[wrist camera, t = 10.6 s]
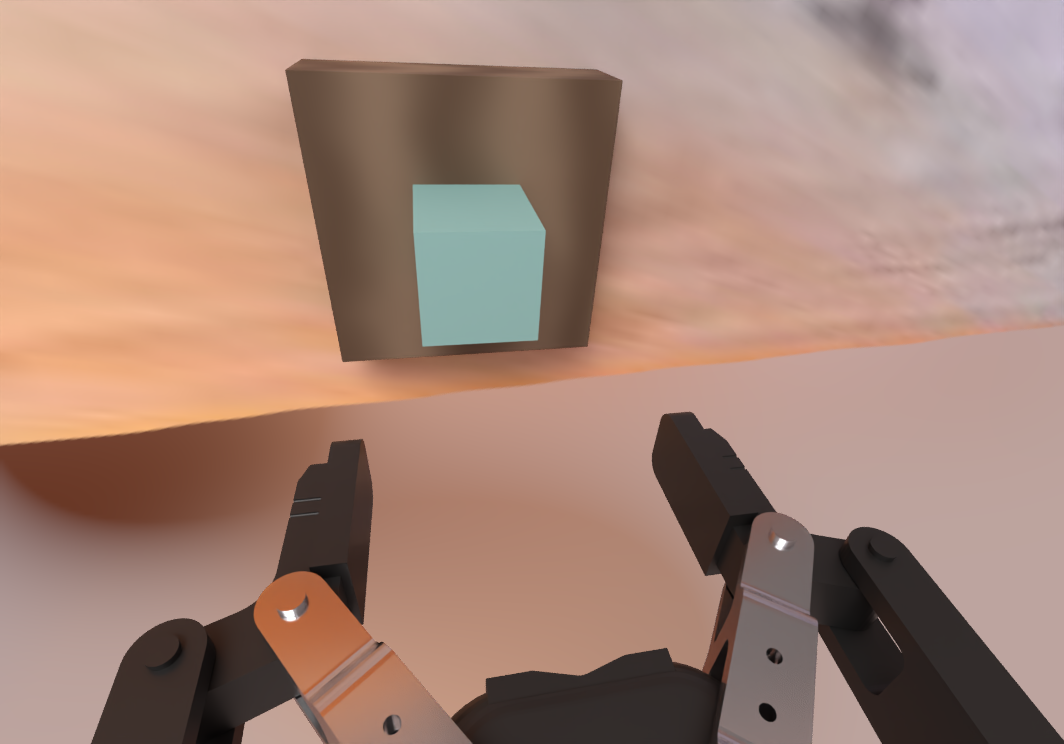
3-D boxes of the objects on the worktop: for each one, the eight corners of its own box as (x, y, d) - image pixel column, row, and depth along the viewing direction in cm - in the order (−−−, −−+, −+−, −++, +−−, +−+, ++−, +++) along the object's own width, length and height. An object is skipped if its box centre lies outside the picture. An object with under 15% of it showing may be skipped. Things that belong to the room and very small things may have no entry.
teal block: (519, 184, 25) (545, 230, 20) (515, 280, 28) (538, 340, 23) (412, 184, 24) (413, 232, 19) (420, 283, 27) (422, 346, 22)
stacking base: (596, 69, 26) (622, 80, 23) (571, 313, 34) (587, 346, 31) (301, 59, 24) (285, 70, 21) (349, 325, 32) (342, 362, 29)
